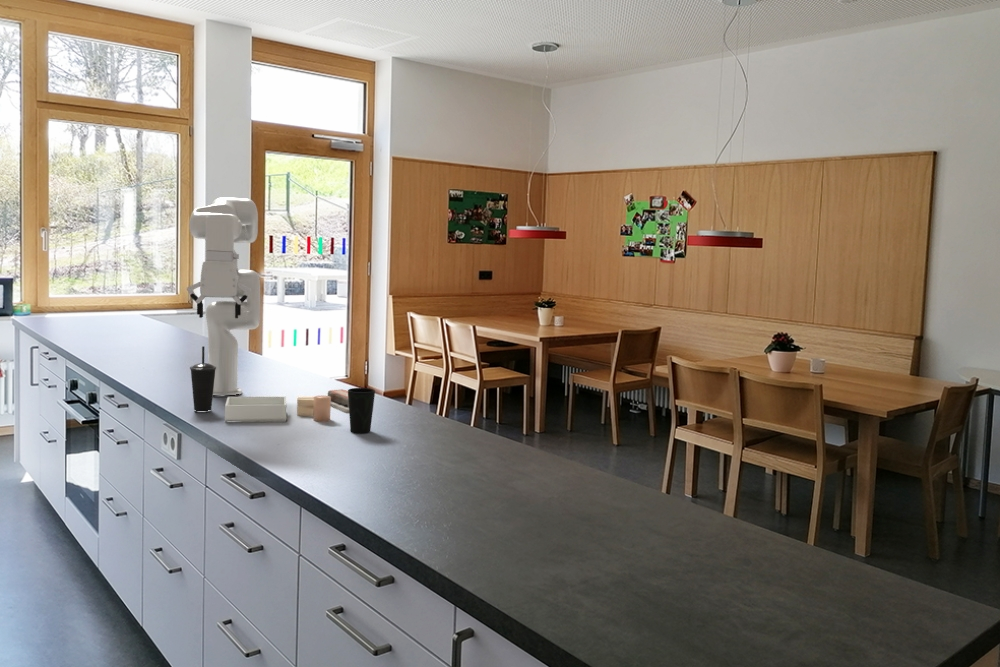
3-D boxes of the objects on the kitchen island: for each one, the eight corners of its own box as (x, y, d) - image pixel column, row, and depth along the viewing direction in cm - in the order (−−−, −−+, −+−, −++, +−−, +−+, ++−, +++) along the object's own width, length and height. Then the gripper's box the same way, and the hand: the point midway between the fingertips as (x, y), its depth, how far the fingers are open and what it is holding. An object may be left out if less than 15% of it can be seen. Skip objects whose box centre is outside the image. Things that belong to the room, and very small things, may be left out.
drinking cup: (198, 414, 245) (199, 348, 243) (184, 410, 249) (184, 346, 247) (221, 411, 251) (221, 347, 249) (206, 407, 255) (207, 344, 253)
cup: (368, 435, 229) (369, 393, 227) (342, 433, 230) (343, 391, 229) (377, 429, 236) (378, 389, 235) (352, 427, 238) (353, 386, 236)
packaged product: (321, 389, 271) (349, 387, 277) (321, 403, 272) (348, 401, 278) (345, 399, 257) (373, 396, 263) (345, 414, 257) (373, 411, 263)
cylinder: (312, 418, 248) (313, 395, 247) (329, 418, 249) (330, 395, 248) (313, 421, 243) (314, 398, 242) (330, 421, 244) (331, 398, 243)
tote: (227, 412, 249) (227, 396, 249) (285, 412, 254) (286, 396, 253) (224, 422, 237) (225, 405, 236) (286, 421, 241) (286, 405, 241)
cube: (297, 412, 255) (297, 396, 255) (313, 412, 256) (313, 396, 256) (297, 415, 250) (297, 399, 250) (314, 415, 252) (314, 399, 251)
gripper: (252, 258, 237) (251, 317, 239) (188, 256, 233) (188, 315, 234) (250, 259, 230) (250, 319, 231) (185, 256, 225) (185, 318, 227)
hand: (219, 317), depth 233 cm, fingers open, 9 cm apart
